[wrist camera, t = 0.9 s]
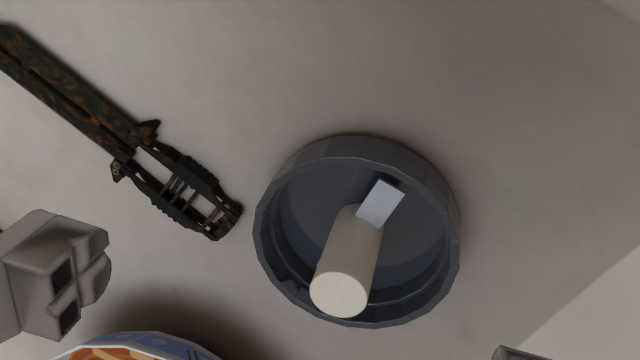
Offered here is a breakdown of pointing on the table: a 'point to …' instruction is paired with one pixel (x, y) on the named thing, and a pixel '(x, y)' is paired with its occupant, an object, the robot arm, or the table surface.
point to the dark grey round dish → (397, 239)
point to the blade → (353, 253)
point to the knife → (125, 131)
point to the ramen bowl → (137, 348)
